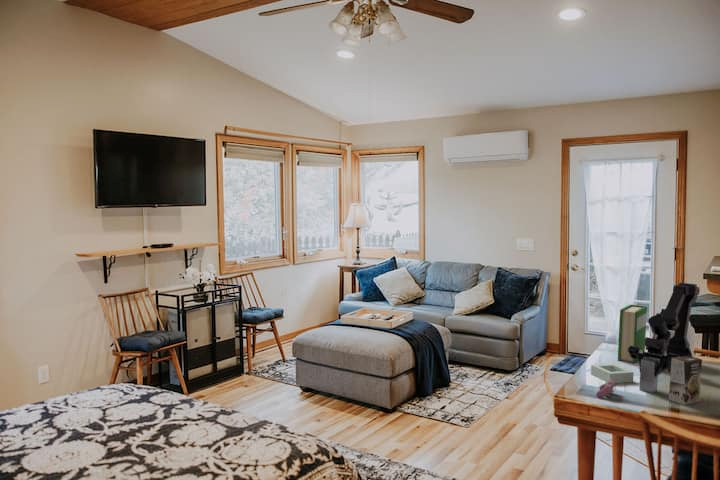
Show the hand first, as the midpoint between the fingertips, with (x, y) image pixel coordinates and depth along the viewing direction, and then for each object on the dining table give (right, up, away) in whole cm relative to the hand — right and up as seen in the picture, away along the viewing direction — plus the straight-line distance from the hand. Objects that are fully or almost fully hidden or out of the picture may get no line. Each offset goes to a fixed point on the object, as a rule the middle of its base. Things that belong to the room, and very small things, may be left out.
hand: (647, 374), depth 214 cm
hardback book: (+17, -4, +47) cm, 50 cm away
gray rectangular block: (+1, -7, +1) cm, 7 cm away
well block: (-7, -5, +16) cm, 18 cm away
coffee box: (+9, -8, -9) cm, 15 cm away
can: (+35, -5, +41) cm, 54 cm away
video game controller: (-18, -7, -4) cm, 20 cm away
